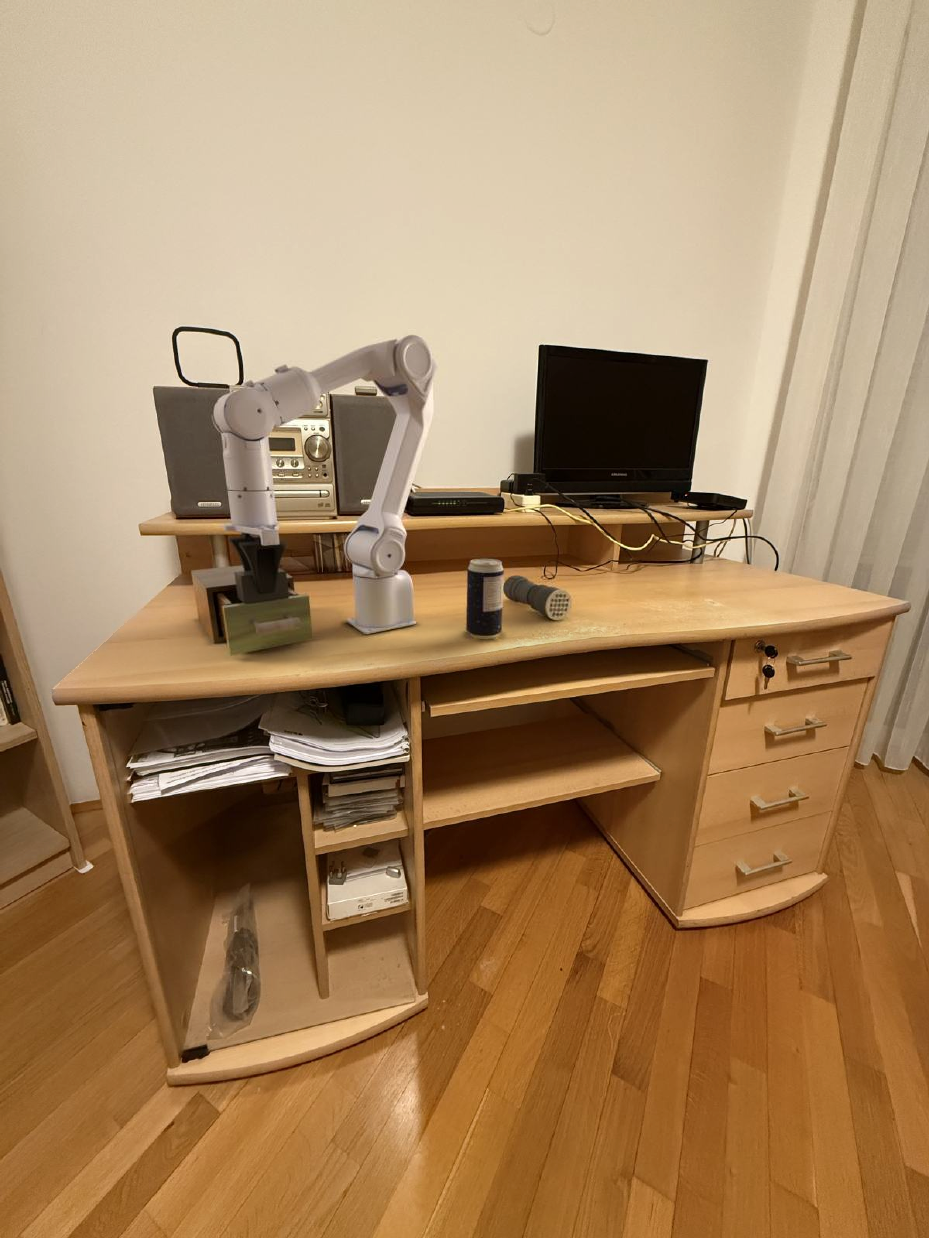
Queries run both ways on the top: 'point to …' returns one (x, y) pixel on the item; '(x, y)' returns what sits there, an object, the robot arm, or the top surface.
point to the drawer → (262, 621)
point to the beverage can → (484, 598)
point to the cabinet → (216, 582)
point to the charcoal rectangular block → (249, 591)
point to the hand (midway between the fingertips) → (262, 589)
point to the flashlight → (538, 597)
